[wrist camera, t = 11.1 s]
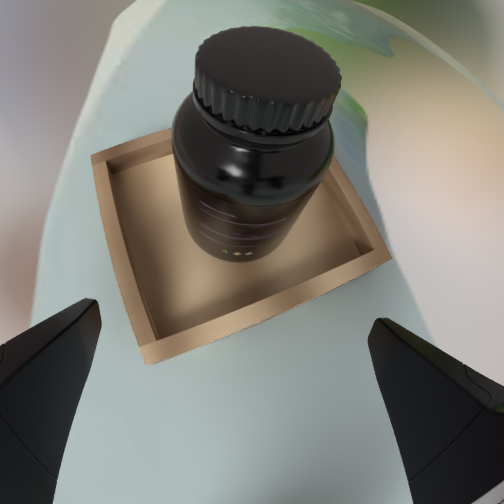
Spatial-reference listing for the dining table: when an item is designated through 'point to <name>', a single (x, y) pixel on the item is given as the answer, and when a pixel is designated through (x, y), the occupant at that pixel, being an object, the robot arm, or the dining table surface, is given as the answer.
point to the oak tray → (213, 269)
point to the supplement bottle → (253, 139)
